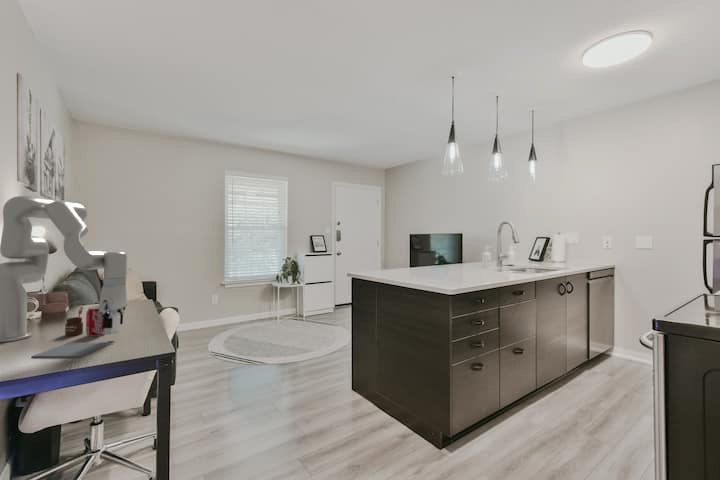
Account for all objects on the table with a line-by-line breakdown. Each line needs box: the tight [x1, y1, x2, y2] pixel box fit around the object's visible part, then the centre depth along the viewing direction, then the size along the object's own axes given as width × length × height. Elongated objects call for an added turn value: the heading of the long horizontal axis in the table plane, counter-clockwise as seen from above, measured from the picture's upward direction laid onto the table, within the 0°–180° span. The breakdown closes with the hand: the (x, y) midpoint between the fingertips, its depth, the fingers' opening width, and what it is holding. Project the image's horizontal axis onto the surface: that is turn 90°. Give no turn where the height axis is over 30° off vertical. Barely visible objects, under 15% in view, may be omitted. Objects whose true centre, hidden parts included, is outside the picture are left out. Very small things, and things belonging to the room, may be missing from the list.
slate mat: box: [31, 341, 112, 359], centre depth 126 cm, size 16×16×1 cm
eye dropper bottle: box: [105, 310, 121, 335], centre depth 139 cm, size 4×6×12 cm
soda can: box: [85, 305, 106, 338], centre depth 146 cm, size 7×7×12 cm
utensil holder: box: [64, 306, 84, 337], centre depth 147 cm, size 6×6×12 cm
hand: (113, 325), depth 139 cm, fingers closed on eye dropper bottle, 5 cm apart
